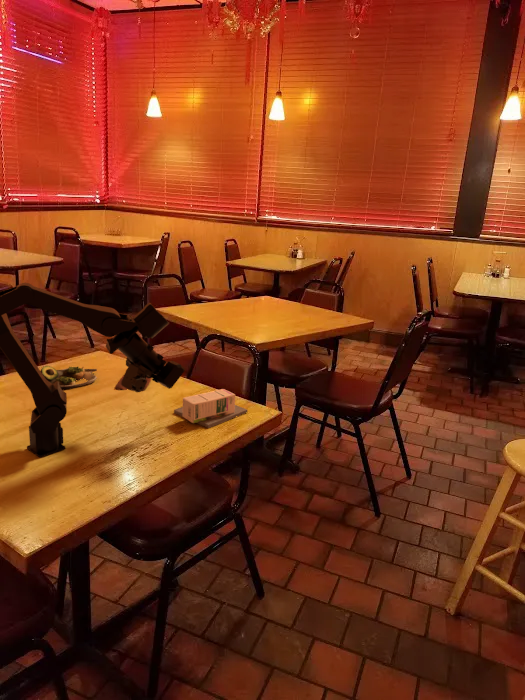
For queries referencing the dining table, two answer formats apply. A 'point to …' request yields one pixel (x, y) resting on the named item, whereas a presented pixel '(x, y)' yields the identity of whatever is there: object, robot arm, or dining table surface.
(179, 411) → the slate board
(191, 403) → the syrup box
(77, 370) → the salad plate
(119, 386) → the wooden tablet
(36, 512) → the dining table surface
